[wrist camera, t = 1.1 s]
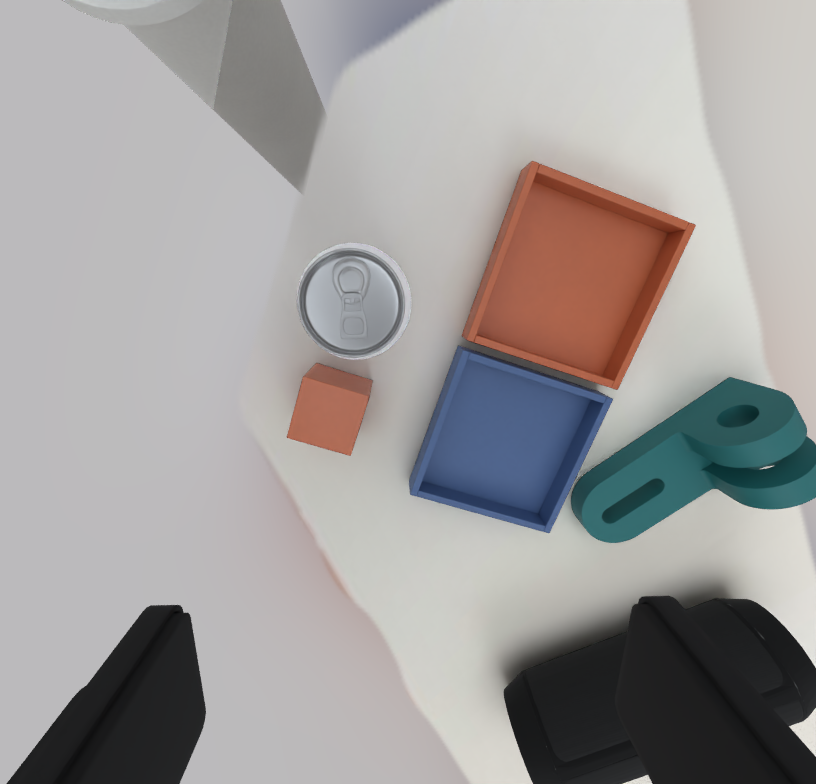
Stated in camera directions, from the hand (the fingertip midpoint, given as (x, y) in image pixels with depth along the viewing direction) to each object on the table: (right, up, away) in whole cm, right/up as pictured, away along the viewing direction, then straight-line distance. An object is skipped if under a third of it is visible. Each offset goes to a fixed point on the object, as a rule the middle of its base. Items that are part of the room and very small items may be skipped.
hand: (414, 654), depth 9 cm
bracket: (+23, -1, +29) cm, 37 cm away
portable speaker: (+22, -22, +35) cm, 47 cm away
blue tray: (+8, +2, +28) cm, 29 cm away
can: (-3, +13, +24) cm, 28 cm away
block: (-6, +5, +26) cm, 27 cm away
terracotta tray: (+13, +14, +24) cm, 31 cm away
